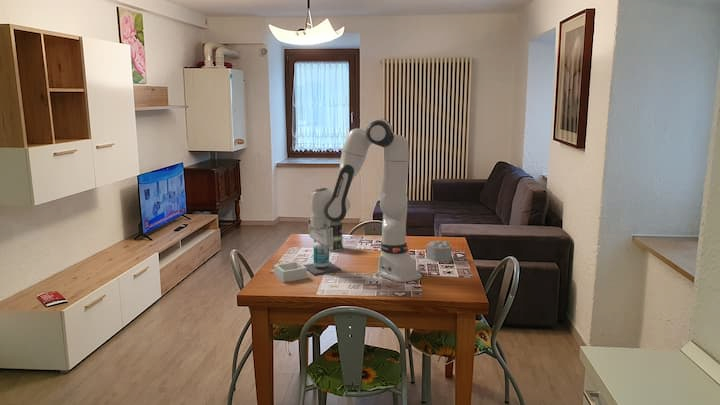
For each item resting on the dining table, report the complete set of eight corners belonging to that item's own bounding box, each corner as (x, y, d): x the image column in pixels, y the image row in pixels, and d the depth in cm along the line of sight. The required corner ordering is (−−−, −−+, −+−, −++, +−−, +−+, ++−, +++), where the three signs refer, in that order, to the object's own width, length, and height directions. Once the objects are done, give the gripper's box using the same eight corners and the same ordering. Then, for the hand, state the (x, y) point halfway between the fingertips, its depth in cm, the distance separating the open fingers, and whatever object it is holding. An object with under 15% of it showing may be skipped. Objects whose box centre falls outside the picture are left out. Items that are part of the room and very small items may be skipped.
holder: (307, 278, 253) (306, 267, 252) (283, 282, 248) (283, 271, 247) (297, 271, 263) (297, 261, 262) (274, 275, 257) (274, 264, 256)
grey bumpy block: (440, 253, 289) (440, 237, 288) (456, 260, 278) (457, 243, 277) (424, 257, 284) (424, 240, 282) (440, 263, 273) (440, 246, 271)
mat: (341, 270, 263) (341, 268, 263) (314, 275, 257) (314, 273, 256) (328, 262, 275) (328, 260, 275) (302, 267, 269) (302, 265, 268)
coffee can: (343, 246, 304) (342, 221, 301) (342, 251, 294) (342, 225, 291) (324, 246, 304) (323, 221, 302) (322, 251, 294) (322, 225, 291)
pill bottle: (317, 268, 260) (317, 240, 258) (311, 264, 267) (310, 237, 264) (331, 266, 264) (331, 238, 261) (325, 262, 270) (325, 235, 268)
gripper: (336, 226, 254) (337, 255, 257) (317, 217, 271) (318, 244, 274) (324, 228, 251) (324, 257, 254) (305, 219, 268) (306, 246, 271)
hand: (321, 250), depth 264 cm, fingers closed on pill bottle, 7 cm apart
